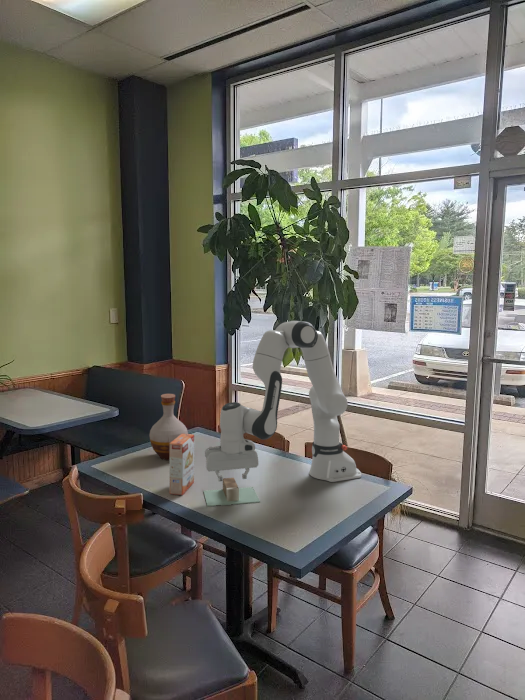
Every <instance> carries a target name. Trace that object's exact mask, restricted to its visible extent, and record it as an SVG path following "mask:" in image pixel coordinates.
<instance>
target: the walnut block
mask: <svg viewBox="0 0 525 700" xmlns="http://www.w3.org/2000/svg"><path fill="white" fill-rule="evenodd" d="M222 478H223V479H222V480H223V481H222V489H223V491H224V494H225V496H226V499H227V501H239V488H240V487H239V485H238V483H237V482H236V479H235V477H225V478H224V477H222Z"/></svg>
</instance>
